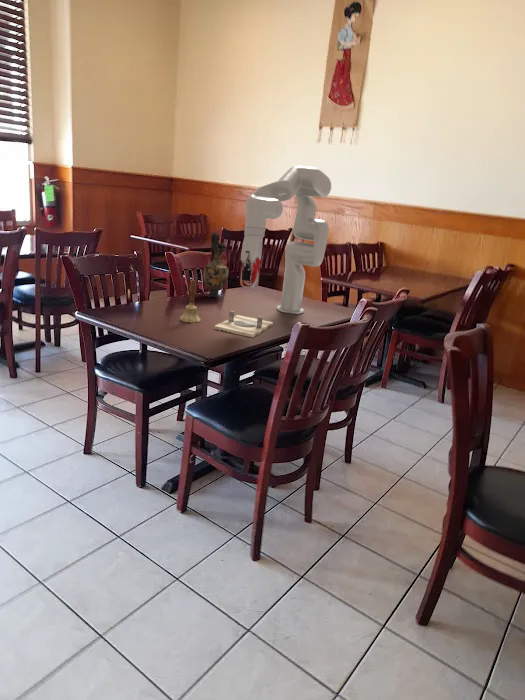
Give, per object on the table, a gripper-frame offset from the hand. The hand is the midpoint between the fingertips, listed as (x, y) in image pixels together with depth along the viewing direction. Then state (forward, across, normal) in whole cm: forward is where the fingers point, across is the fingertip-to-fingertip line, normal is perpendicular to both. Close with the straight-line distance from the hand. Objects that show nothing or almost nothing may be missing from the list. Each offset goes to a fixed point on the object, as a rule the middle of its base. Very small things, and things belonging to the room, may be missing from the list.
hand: (249, 278), depth 192 cm
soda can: (+3, 0, 0) cm, 3 cm away
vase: (+20, -40, -33) cm, 55 cm away
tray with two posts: (+19, 0, 0) cm, 19 cm away
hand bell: (+19, +6, -21) cm, 29 cm away
